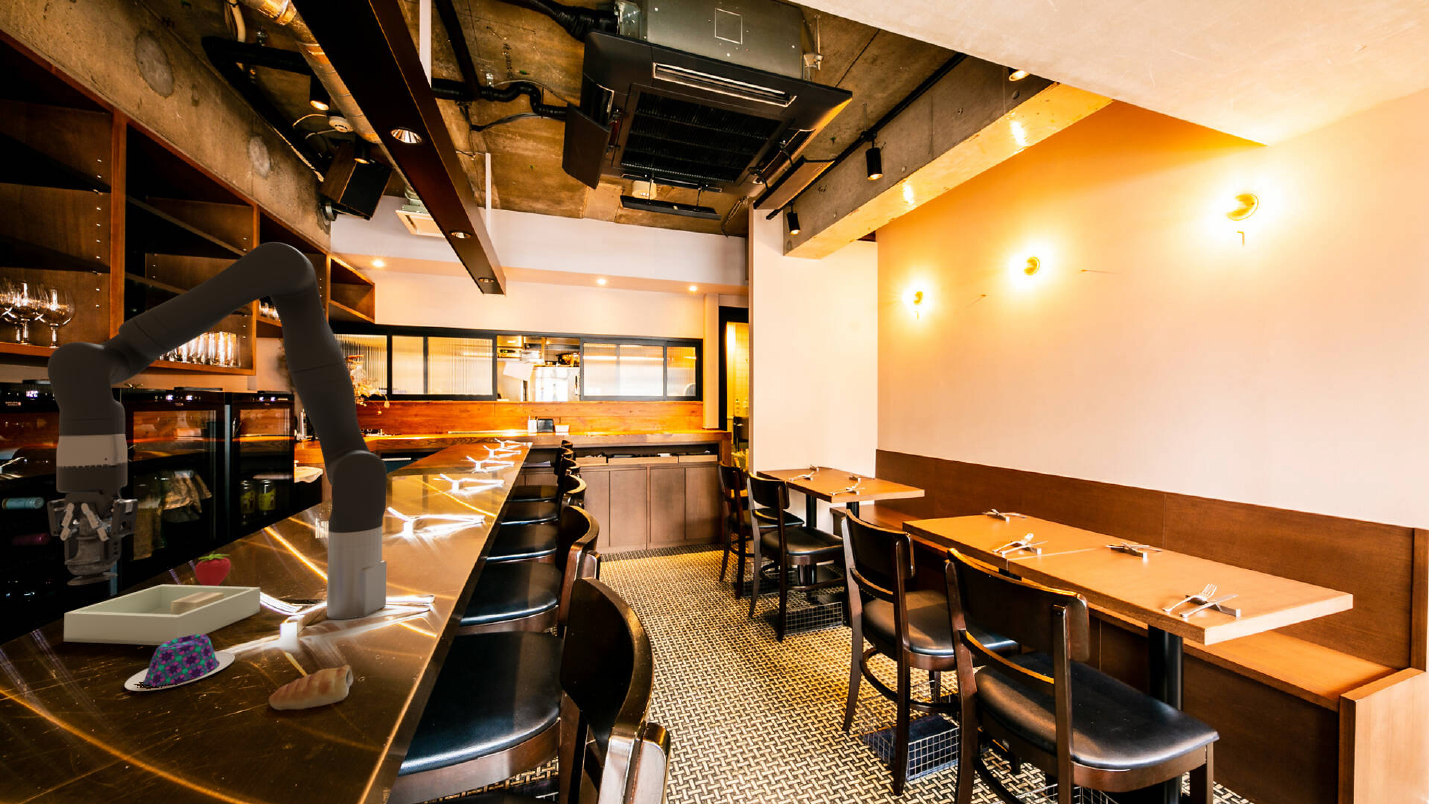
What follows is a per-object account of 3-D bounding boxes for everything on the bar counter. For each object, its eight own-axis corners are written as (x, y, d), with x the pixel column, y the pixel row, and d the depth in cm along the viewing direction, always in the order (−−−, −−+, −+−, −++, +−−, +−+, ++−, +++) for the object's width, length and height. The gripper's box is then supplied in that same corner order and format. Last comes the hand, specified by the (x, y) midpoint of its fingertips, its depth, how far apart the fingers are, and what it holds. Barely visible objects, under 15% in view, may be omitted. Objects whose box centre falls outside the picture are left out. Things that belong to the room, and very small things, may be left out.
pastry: (262, 721, 67) (262, 692, 68) (276, 696, 73) (277, 670, 74) (347, 702, 72) (348, 675, 72) (354, 680, 78) (355, 655, 78)
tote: (259, 611, 103) (260, 587, 103) (177, 645, 88) (177, 617, 88) (161, 608, 105) (162, 584, 105) (63, 641, 90) (64, 613, 90)
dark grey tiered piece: (80, 586, 81) (80, 512, 81) (54, 584, 82) (54, 511, 82) (129, 574, 87) (129, 505, 87) (104, 572, 88) (104, 504, 88)
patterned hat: (173, 658, 84) (173, 627, 84) (253, 653, 86) (254, 623, 86) (98, 699, 73) (98, 663, 73) (193, 692, 74) (194, 656, 75)
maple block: (223, 618, 99) (223, 592, 99) (195, 629, 94) (195, 602, 94) (199, 617, 99) (200, 592, 99) (170, 628, 94) (171, 601, 94)
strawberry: (229, 584, 119) (230, 542, 120) (231, 592, 114) (232, 548, 114) (194, 590, 115) (195, 546, 115) (193, 599, 110) (194, 553, 110)
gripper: (22, 464, 81) (22, 567, 81) (103, 464, 80) (102, 569, 80) (84, 459, 89) (83, 554, 89) (158, 459, 88) (158, 555, 88)
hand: (93, 560), depth 85 cm, fingers closed on dark grey tiered piece, 6 cm apart
